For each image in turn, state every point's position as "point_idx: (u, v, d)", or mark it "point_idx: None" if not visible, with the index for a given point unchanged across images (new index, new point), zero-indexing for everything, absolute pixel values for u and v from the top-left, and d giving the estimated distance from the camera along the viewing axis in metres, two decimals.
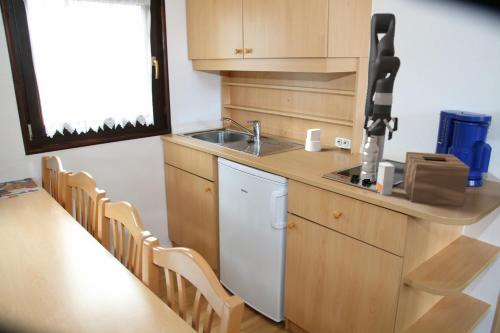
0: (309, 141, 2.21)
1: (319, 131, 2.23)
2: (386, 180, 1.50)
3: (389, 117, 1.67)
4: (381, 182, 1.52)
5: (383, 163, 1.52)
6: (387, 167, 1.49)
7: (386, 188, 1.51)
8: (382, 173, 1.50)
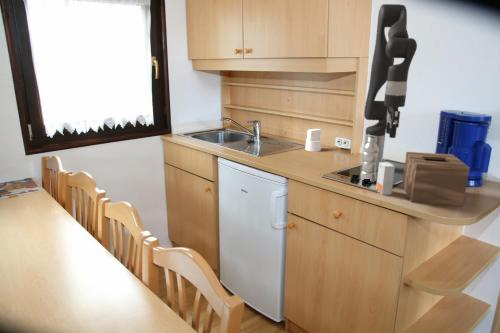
0: (309, 141, 2.21)
1: (319, 131, 2.23)
2: (386, 180, 1.50)
3: None
4: (381, 182, 1.52)
5: (383, 163, 1.52)
6: (387, 167, 1.49)
7: (386, 188, 1.51)
8: (382, 173, 1.50)
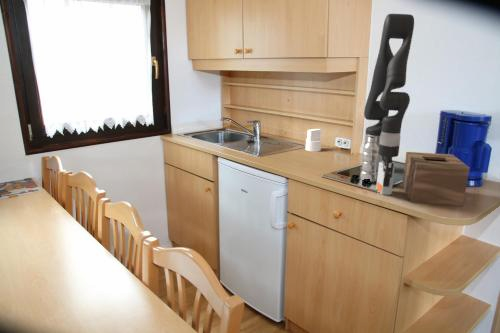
0: (309, 141, 2.21)
1: (319, 131, 2.23)
2: None
3: None
4: (381, 182, 1.52)
5: None
6: None
7: (386, 188, 1.51)
8: (382, 173, 1.50)
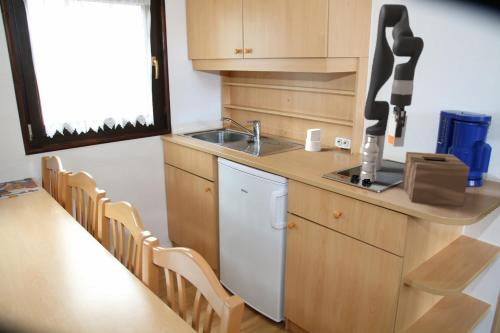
0: (309, 141, 2.21)
1: (319, 131, 2.23)
2: None
3: None
4: (393, 134, 1.46)
5: None
6: None
7: (398, 140, 1.45)
8: (394, 124, 1.45)
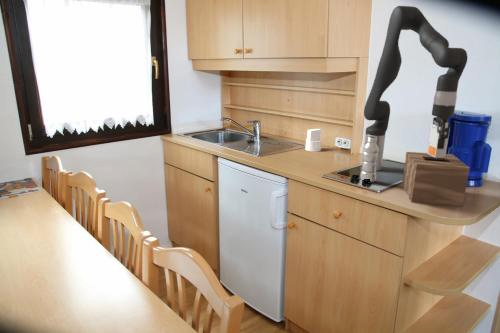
0: (309, 141, 2.21)
1: (319, 131, 2.23)
2: None
3: None
4: (434, 145, 1.45)
5: None
6: None
7: (440, 151, 1.44)
8: (436, 135, 1.44)
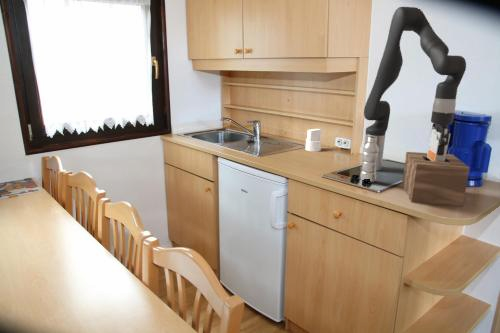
0: (309, 141, 2.21)
1: (319, 131, 2.23)
2: None
3: None
4: (434, 151, 1.45)
5: None
6: None
7: (439, 157, 1.45)
8: (436, 141, 1.43)
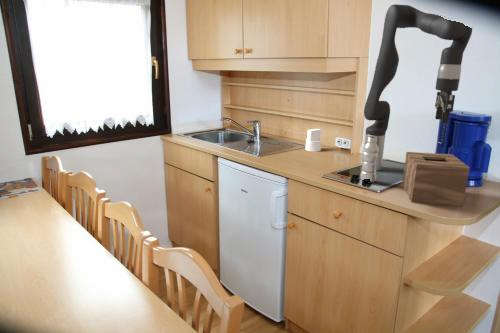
0: (309, 141, 2.21)
1: (319, 131, 2.23)
2: None
3: None
4: None
5: None
6: None
7: None
8: None
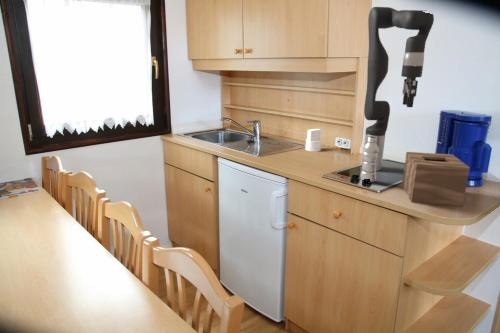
0: (309, 141, 2.21)
1: (319, 131, 2.23)
2: None
3: None
4: None
5: None
6: None
7: None
8: None
